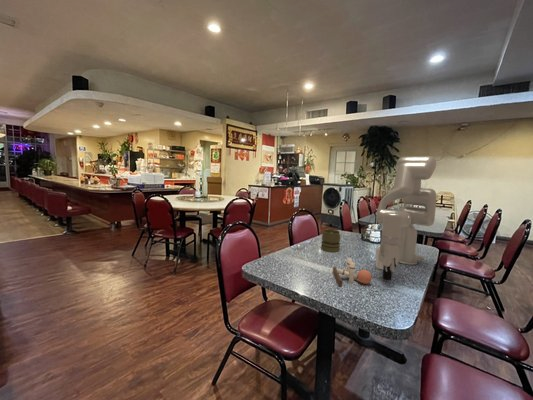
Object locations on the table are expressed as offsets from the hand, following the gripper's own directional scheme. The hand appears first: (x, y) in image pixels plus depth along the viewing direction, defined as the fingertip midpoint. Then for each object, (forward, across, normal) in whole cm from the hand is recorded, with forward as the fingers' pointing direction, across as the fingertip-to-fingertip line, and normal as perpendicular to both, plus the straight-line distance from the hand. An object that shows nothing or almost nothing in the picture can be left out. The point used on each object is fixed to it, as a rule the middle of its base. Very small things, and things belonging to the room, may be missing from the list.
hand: (386, 279), depth 110 cm
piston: (+2, -45, -18) cm, 48 cm away
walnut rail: (+2, 0, -22) cm, 22 cm away
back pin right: (+2, -2, -16) cm, 17 cm away
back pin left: (+2, +2, -16) cm, 17 cm away
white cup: (+2, -19, +5) cm, 20 cm away
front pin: (0, 0, -13) cm, 13 cm away
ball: (-2, +3, -11) cm, 11 cm away
